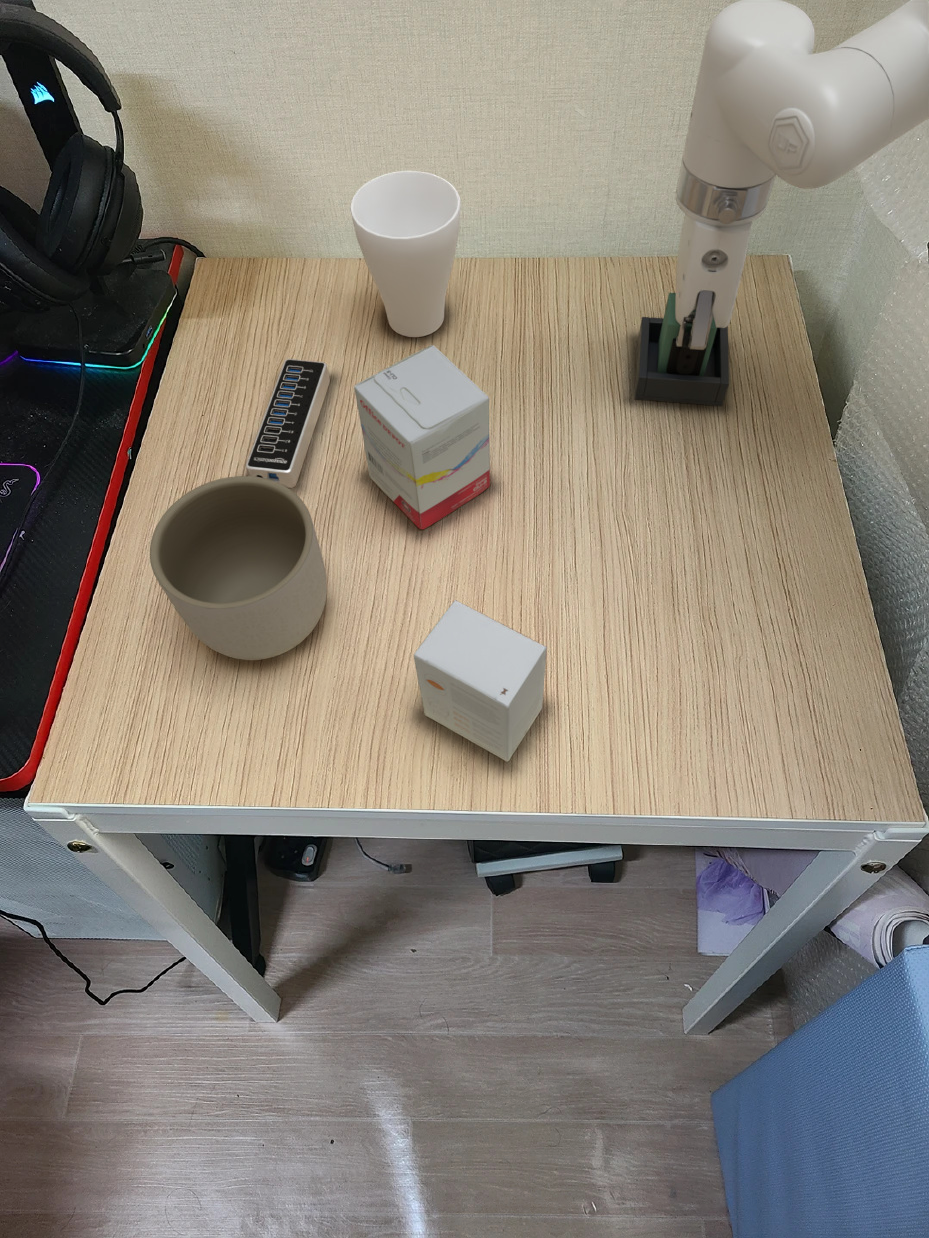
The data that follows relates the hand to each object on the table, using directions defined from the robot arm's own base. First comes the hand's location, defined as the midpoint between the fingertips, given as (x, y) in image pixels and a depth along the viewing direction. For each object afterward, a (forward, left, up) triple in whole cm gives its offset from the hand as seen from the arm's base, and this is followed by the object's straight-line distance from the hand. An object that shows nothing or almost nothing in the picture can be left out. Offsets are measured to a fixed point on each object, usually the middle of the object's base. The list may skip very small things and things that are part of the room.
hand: (683, 352), depth 86 cm
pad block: (0, 0, -1) cm, 1 cm away
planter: (+35, +33, -3) cm, 48 cm away
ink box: (+23, +17, -3) cm, 29 cm away
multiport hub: (+38, +12, -3) cm, 40 cm away
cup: (+28, -5, -3) cm, 29 cm away
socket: (0, 0, -3) cm, 3 cm away
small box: (+15, +40, -3) cm, 43 cm away
